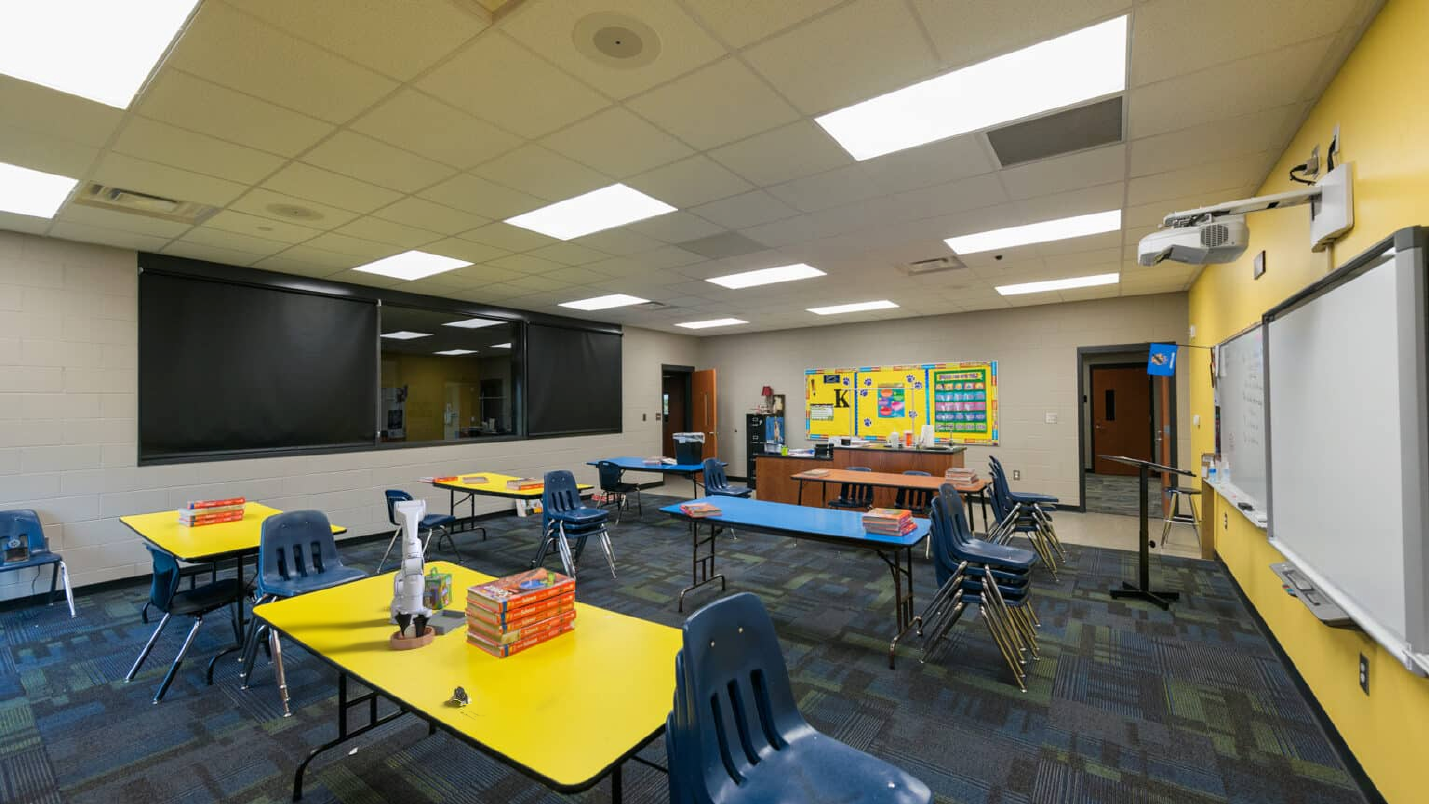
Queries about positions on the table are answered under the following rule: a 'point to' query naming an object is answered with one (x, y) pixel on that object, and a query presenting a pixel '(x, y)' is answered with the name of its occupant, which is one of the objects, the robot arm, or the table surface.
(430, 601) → the chalk box
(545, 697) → the table surface
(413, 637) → the ball
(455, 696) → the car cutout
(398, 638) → the bowl
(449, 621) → the tray
